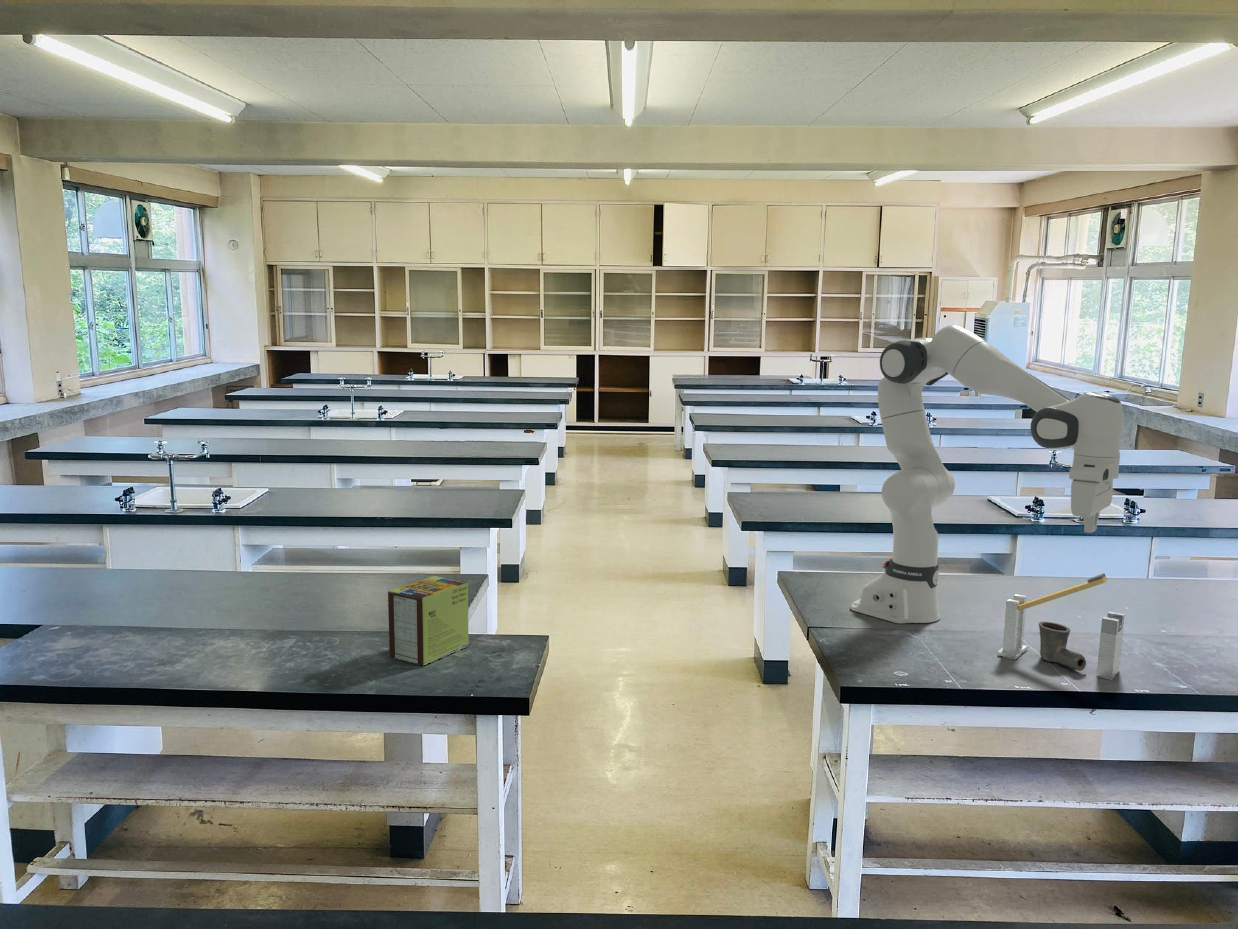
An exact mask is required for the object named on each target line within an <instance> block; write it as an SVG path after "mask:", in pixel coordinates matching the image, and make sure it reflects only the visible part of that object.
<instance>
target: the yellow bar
mask: <svg viewBox="0 0 1238 929" xmlns="http://www.w3.org/2000/svg"><path fill="white" fill-rule="evenodd" d="M1106 582H1108V577H1107V576H1106V574H1105V573H1102V574H1098V575H1095V576H1092V577H1090V578H1088V579H1087V580H1086V582H1083V583H1080V584H1077V585H1074V586H1071V587H1068V588H1065V589H1062V590H1059V591H1055V592H1053V593H1050V594H1047V595H1044V596H1040V597H1038V598H1035V599H1032V600H1029V601H1026V602H1025V603H1022V604H1019V611H1020V610H1023V609H1029V608H1032V607H1035V606H1038V605H1042V604H1045V603H1047V602H1050V601H1053V600H1054V601H1055V600H1057V599H1060V598H1063V597H1066V596H1069V595H1072V594H1075V593H1078V592H1081V591H1084V590H1087V589H1090V588H1093V587H1096V586H1099V585H1102V584H1106Z"/></svg>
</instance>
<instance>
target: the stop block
mask: <svg viewBox="0 0 1238 929" xmlns="http://www.w3.org/2000/svg"><path fill="white" fill-rule="evenodd" d="M1124 623H1125V613H1121V612H1115V611H1110V610H1109V611H1108V612H1107V616H1103V617H1102V618H1101V626H1100V636H1099V646H1098V657H1097V670H1096V677H1097V678H1101V679H1106V680H1110V681H1113V680H1114V678H1115V677H1116V676H1117V674H1119V672H1120V668H1121V667H1120V666H1121V657H1122V649H1123V648H1122V646H1123V634H1124Z"/></svg>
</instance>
